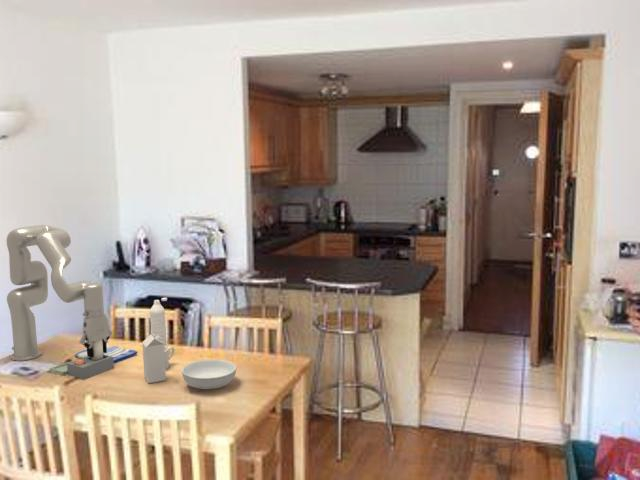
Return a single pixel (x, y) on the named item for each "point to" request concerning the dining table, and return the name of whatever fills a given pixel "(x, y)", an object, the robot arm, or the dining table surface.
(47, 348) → the dining table surface
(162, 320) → the water bottle
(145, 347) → the milk carton
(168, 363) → the mug
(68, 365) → the housing
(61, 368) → the tray
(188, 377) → the serving bowl
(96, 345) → the cylinder
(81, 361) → the plunger
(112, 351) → the dish towel
